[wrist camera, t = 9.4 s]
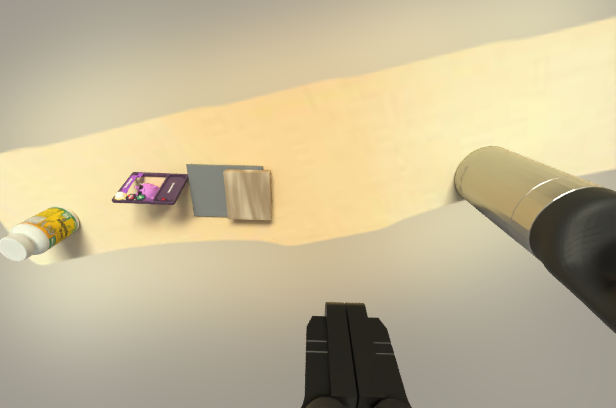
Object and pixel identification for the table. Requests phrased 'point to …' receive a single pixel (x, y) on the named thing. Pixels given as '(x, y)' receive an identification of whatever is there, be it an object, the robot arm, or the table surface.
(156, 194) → the purple toy case
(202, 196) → the felt mat
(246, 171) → the tile
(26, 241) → the supplement bottle
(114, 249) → the table surface
